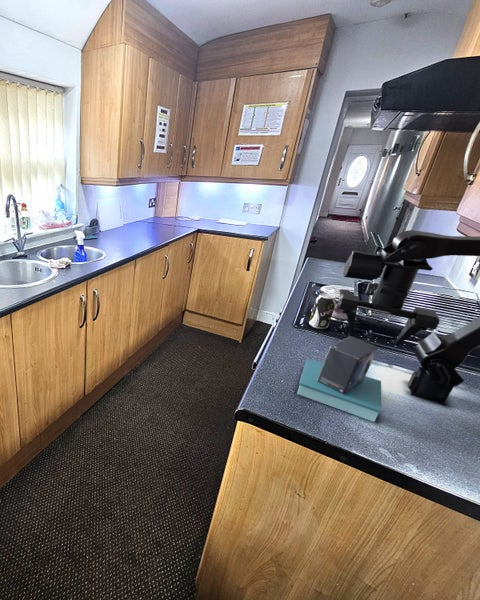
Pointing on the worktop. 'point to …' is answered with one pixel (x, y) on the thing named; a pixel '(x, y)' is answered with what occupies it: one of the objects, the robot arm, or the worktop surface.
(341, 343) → the small box
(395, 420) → the worktop surface
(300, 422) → the worktop surface
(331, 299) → the beverage can
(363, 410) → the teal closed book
